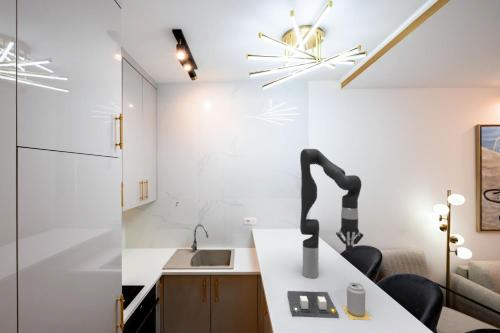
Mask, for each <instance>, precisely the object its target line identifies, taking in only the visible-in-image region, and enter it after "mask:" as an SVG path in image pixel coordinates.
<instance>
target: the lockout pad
mask: <svg viewBox="0 0 500 333" xmlns="http://www.w3.org/2000/svg"><path fill="white" fill-rule="evenodd" d="M342 307H343V310H344V311H345V313H346V314H347V317H348V318H349V319H350V320H367V321H369V320H370V321H372V317H370V315H369V314H368V312H367V311H366V310H365V314H364V315H362V316H354V315H352V314H351V313H350V312H349V311H348V310H347V305H346V306H342Z"/></svg>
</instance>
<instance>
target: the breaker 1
mask: <svg viewBox="0 0 500 333" xmlns="http://www.w3.org/2000/svg"><path fill="white" fill-rule="evenodd" d="M300 306H301V309H308V299H307V296H300Z"/></svg>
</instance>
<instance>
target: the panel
mask: <svg viewBox="0 0 500 333" xmlns="http://www.w3.org/2000/svg"><path fill="white" fill-rule="evenodd" d="M286 294H287V298H288V303H289V309H290V314H291V317H304V318H305V317H306V318H307V317H308V318H330V319H331V318H333V319H339V318H340V315H339V312H338V310H337V308H336V306H335V304H334V303H333V300H332V299H331V296H330V295H329V293H328V291H303V290H302V291H301V290H287V293H286ZM300 296H307V299H308V309H301V306H300ZM318 297H325V300H326V302H327V310H322V309H319V307H318Z"/></svg>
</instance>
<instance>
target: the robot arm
mask: <svg viewBox="0 0 500 333" xmlns="http://www.w3.org/2000/svg"><path fill="white" fill-rule="evenodd" d="M299 155H300V157H299V158H300V161H299V162H300V173H301V177H300V178H301V181H300V182H301V184H300V185H301V187H300V188H301V189H300V191H301V192H300V194H301V195H300V198H301V200H300V202H301V203H300V204H301V205H300V206H301V208H300V211H301V212H300V225H299V229H300V234H302V236H303V235H304V236H310V237H308V238H306V239H303V241H302V275H303V277H305V278H308V279H309V278H310V279H317V278H318V277H319V268H320V267H319V265H320V263H319V257H320V255H319V243H320V242H319V241H320V235H319V234H320V222H319V220H318V219H316V218H312V219H311V218H308V215H309V212H310V210H311V209H312V208H313V205H314V204H315V202H316V201H317V199H318V185H317V183H316V181H315V180H314V177H313V176H312V173H311V165H318V166H320V167H321V168H322V170H323V172H324V174H325V175H326V176H327V177H328V178H330V179H332V180H333V181H334V182H335V184H336V185H337V186H338V187H339V189H340V190H343V191H347V192H346V194H344V195H342V197H341V212H340V213H341V214H340V218H341V219H340V220H341V222H340V229H339V231H338V232H335V235H336V236H337V238H338V239H339V240H340V242H342V243H343V244H344V245H345V251H346V252H347V254H352V253H353V252H354V246H355V245H358V243H359V242H360V241H361V240H362V238H363V237H364V234H363V233H362V232H360V230H359V208H358V204H359V202H358V201H359V200H358V199H359V197H360V193H361V189H362V180H361V178H360V177H359V175H355V174H354V175H347V174H346V171H345V170H344V169H343V168H341V167H339V166H338V165H336V164H335V163H333V162H332V161H331V160H329V159H328V157H327V156H325V155H324V153H322V152H321V151H320V150H319V149H317V148H304V149H302V150H301V152H300V154H299Z"/></svg>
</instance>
